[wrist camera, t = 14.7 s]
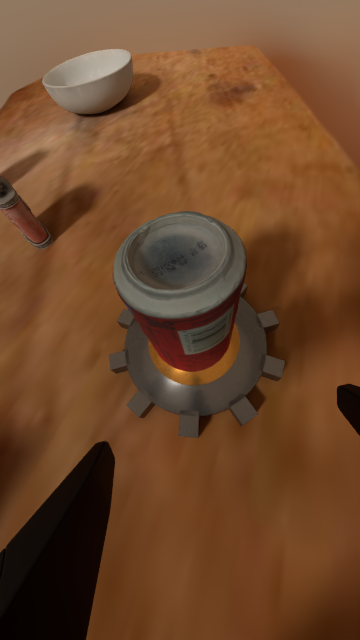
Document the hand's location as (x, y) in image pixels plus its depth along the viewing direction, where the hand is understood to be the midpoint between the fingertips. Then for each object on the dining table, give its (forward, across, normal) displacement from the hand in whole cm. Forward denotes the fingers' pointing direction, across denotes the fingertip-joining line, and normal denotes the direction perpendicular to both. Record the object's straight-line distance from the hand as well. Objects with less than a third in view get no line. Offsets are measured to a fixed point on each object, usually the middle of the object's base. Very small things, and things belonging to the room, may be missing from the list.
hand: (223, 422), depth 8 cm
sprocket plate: (+14, 0, +3) cm, 15 cm away
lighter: (+32, +20, -14) cm, 40 cm away
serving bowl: (+63, +8, -45) cm, 78 cm away
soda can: (+13, 0, +2) cm, 13 cm away
